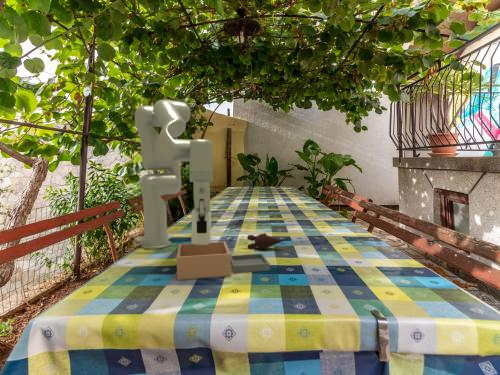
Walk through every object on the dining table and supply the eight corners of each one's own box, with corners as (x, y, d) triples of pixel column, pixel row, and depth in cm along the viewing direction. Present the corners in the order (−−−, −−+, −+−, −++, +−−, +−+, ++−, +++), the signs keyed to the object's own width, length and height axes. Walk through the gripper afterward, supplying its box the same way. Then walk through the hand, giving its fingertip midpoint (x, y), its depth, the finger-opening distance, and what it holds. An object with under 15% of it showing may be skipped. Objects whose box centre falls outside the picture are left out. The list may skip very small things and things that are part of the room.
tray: (233, 273, 103) (233, 266, 103) (229, 261, 115) (229, 255, 115) (269, 270, 105) (269, 263, 105) (262, 259, 117) (262, 253, 117)
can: (206, 246, 104) (207, 210, 103) (188, 245, 105) (188, 209, 104) (213, 242, 110) (213, 207, 110) (195, 240, 112) (196, 207, 111)
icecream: (283, 232, 133) (249, 234, 137) (280, 231, 126) (244, 233, 130) (284, 249, 132) (250, 250, 136) (281, 249, 125) (244, 250, 129)
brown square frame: (177, 279, 98) (176, 257, 97) (179, 263, 114) (179, 244, 113) (230, 275, 100) (230, 254, 100) (225, 260, 117) (225, 241, 116)
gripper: (214, 178, 97) (214, 237, 99) (211, 175, 114) (211, 225, 116) (189, 179, 96) (189, 237, 98) (189, 175, 113) (190, 226, 114)
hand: (201, 230), depth 107 cm, fingers closed on can, 4 cm apart
